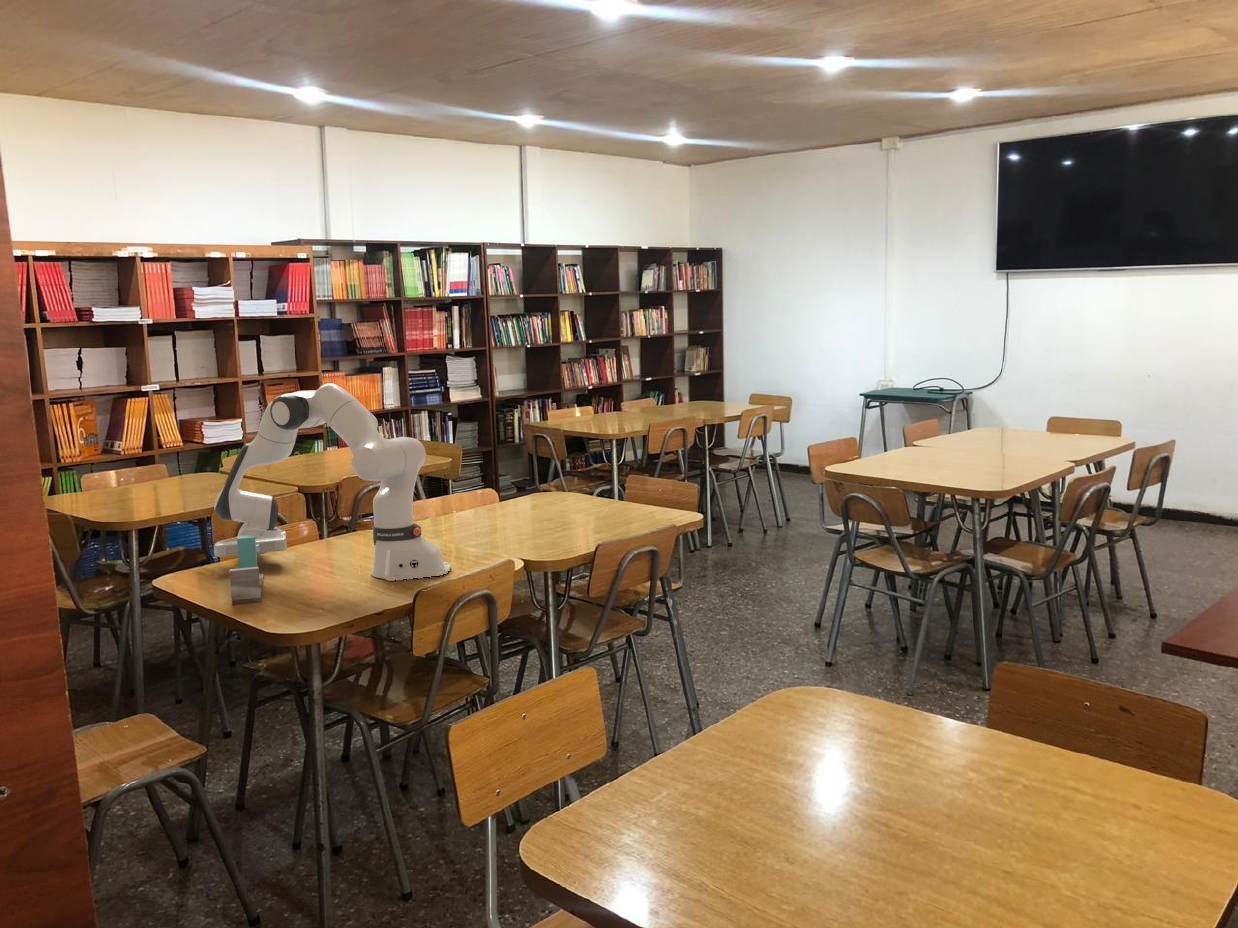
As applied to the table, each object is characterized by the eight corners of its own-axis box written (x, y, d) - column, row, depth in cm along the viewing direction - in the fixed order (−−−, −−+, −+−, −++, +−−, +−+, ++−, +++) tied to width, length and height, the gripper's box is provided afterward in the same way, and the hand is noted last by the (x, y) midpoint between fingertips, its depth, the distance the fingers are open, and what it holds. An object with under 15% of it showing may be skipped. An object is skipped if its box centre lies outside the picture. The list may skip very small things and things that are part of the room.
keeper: (241, 577, 267) (237, 535, 265) (258, 575, 268) (255, 534, 267) (240, 580, 263) (237, 538, 261) (257, 579, 264) (254, 537, 263)
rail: (237, 580, 269) (235, 549, 268) (263, 577, 272) (261, 547, 270) (232, 604, 245) (229, 571, 244) (260, 601, 247) (258, 568, 246)
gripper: (214, 534, 283) (210, 544, 271) (286, 528, 290) (285, 537, 277) (215, 555, 284) (212, 565, 271) (287, 548, 291) (287, 558, 278)
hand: (250, 551), depth 274 cm, fingers closed
